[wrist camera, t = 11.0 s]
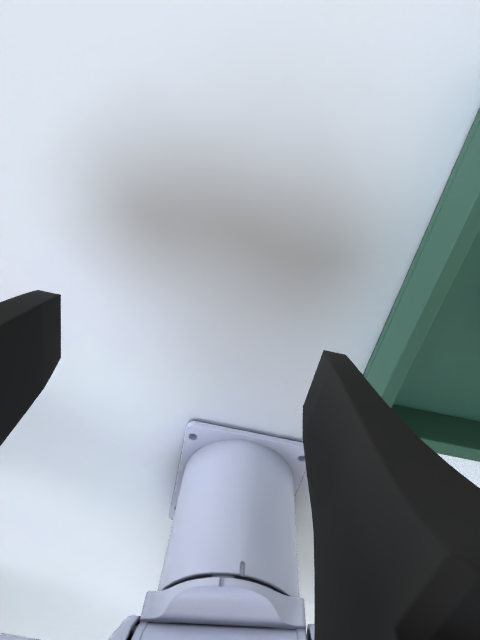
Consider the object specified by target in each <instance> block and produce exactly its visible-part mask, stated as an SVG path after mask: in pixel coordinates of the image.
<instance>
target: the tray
mask: <svg viewBox="0 0 480 640" xmlns="http://www.w3.org/2000/svg"><path fill="white" fill-rule="evenodd" d="M363 376H364V377H365V378H366V380H367V381H368V382H369V383H370V384H371V386H372V387H373V388H374V389H375V390H376V392H377V393H378V394H379V395H380V396H381V397H382V399H383V400H384V401H385V402H386V403H387V404H388V405H389V407H390V408H391V409H392V410H393V411H394V412H395V413H396V414H397V415H398V416H399V418H400V419H401V420H402V421H403V422H404V423H405V424H406V425H407V426H408V427H409V428H410V429H411V430H412V431H413V432H414V433H415V434H416V435H417V436H418V437H419V438H420V439H421V440H422V441H423V442H424V443H426V444H427V445H428V446H429V447H430V448H431V449H432V450H433V451H434V452H436V453H439V454H444V455H449V456H454V457H459V458H464V459H469V460H474V461H479V462H480V109H479V111H478V114H477V116H476V118H475V121H474V123H473V125H472V128H471V130H470V132H469V134H468V137H467V139H466V141H465V144H464V146H463V148H462V150H461V153H460V155H459V157H458V160H457V162H456V164H455V166H454V169H453V171H452V173H451V176H450V178H449V180H448V182H447V185H446V187H445V189H444V192H443V194H442V196H441V198H440V201H439V203H438V205H437V208H436V210H435V212H434V214H433V217H432V219H431V221H430V224H429V226H428V228H427V231H426V233H425V235H424V237H423V240H422V242H421V244H420V247H419V249H418V251H417V253H416V256H415V258H414V260H413V263H412V265H411V267H410V269H409V272H408V274H407V276H406V279H405V281H404V283H403V285H402V288H401V290H400V292H399V295H398V297H397V299H396V301H395V304H394V306H393V308H392V311H391V313H390V315H389V317H388V320H387V322H386V324H385V327H384V329H383V331H382V334H381V336H380V338H379V340H378V343H377V345H376V347H375V350H374V352H373V354H372V356H371V359H370V361H369V363H368V366H367V368H366V370H365V372H364V375H363Z"/></svg>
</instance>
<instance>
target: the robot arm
mask: <svg viewBox="0 0 480 640" xmlns="http://www.w3.org/2000/svg"><path fill="white" fill-rule="evenodd" d="M60 358H61V295H59V294H54V293H49V292H45V291H40V290H36V291H32V292H29V293H26V294H22V295H20V296H17V297H14V298H11V299H8V300H6V301H3V302H0V446H1V444H2V443H3V442H4V440H5V439H6V438H7V437H8V435H9V434H10V433H11V431H12V430H13V429H14V427H15V426H16V425H17V423H18V422H19V421H20V419H21V418H22V417H23V415H24V414H25V413H26V412H27V410H28V409H29V408H30V406H31V405H32V404H33V402H34V401H35V399H36V398H37V397H38V395H39V394H40V393H41V391H42V390H43V389H44V387H45V385H46V384H47V382H48V380H49V378H50V377H51V375H52V373H53V371H54V369H55V367H56V365H57V364H58V362H59V360H60ZM191 434H195V435H191ZM300 456H304V457H300ZM305 470H307V478H308V486H309V493H310V501H311V509H312V518H313V530H314V566H315V624H308V627H307V636H306V622H305V607H304V599H303V598H300V597H299V579H298V561H297V543H296V524H295V506H294V497H295V495H296V492H297V490H298V487H299V485H300V483H301V480H302V478H303V475H304V473H305ZM169 517H170V518H171V519H172V520H173V524H172V528H171V533H170V537H169V542H168V546H167V551H166V555H165V560H164V564H163V569H162V573H161V578H160V582H159V587H158V591H148V592H147V593H146V597H145V601H144V606H143V610H142V614H141V616H136V615H132V616H129V617H127V618H126V619H125V620H124V621H123V622H122V623H121V625H120V626H119V628H118V629H117V630H116V631H115V632H114V633H113V634H112V635H111V637H110V638H109V640H480V488H478V487H477V486H476V485H475V484H473V483H472V482H471V481H469V480H468V479H467V478H466V477H464V476H463V475H462V474H460V473H459V472H458V471H457V470H455V469H454V468H453V467H452V466H451V465H449V464H448V463H447V462H446V461H445V460H443V459H442V458H441V457H440V456H439V455H438V454H437V453H436V452H434V451H433V450H432V449H431V448H430V447H429V446H428V445H427V444H426V443H424V442H423V441H422V440H421V439H420V438H419V437H418V436H417V435H416V434H415V433H414V432H413V431H412V430H411V429H410V428H409V427H408V426H407V425H406V424H405V423H404V422H403V421H402V420H401V419H400V418H399V416H398V415H397V414H396V413H395V412H394V411H393V410H392V409H391V408H390V407H389V405H388V404H387V403H386V402H385V401H384V400H383V399H382V397H381V396H380V395H379V394H378V393H377V392H376V390H375V389H374V388H373V387H372V386H371V384H370V383H369V382H368V381H367V380H366V378H365V377H364V376H363V375H362V373H361V372H360V371H359V370H358V369H357V367H356V366H355V365H354V364H353V363H352V361H351V360H350V359H349V358H348V357H347V356H346V355H344V354H339V353H334V352H330V351H325V350H324V351H323V354H322V356H321V359H320V362H319V364H318V367H317V370H316V373H315V375H314V378H313V381H312V384H311V386H310V389H309V392H308V395H307V397H306V400H305V403H304V405H303V443H302V442H297V441H292V440H287V439H282V438H277V437H272V436H267V435H262V434H257V433H252V432H247V431H242V430H237V429H232V428H227V427H222V426H217V425H212V424H207V423H202V422H197V421H192V422H189V423H188V425H187V428H186V432H185V438H184V443H183V448H182V453H181V458H180V463H179V468H178V474H177V479H176V484H175V489H174V494H173V499H172V504H171V509H170V515H169ZM0 640H39V639H33V638H27V637H21V636H15V635H10V634H4V633H0Z"/></svg>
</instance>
